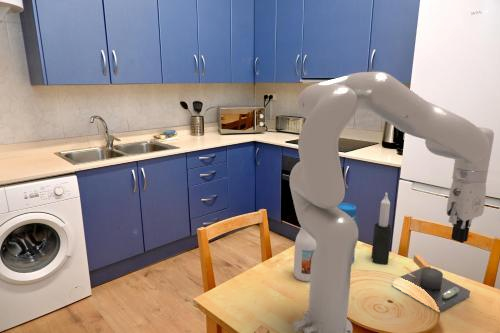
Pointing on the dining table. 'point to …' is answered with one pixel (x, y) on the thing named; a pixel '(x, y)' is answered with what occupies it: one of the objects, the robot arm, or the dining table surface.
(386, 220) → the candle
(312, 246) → the milk bottle
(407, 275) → the base
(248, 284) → the dining table surface
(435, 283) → the grey rubber mallet
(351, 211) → the beverage bottle
